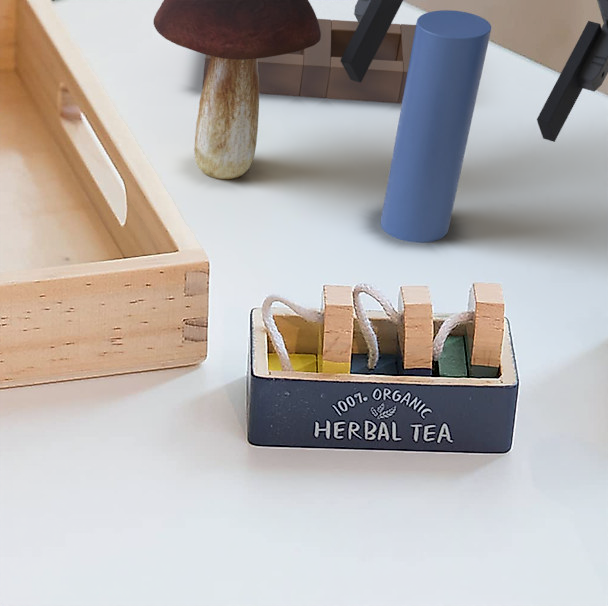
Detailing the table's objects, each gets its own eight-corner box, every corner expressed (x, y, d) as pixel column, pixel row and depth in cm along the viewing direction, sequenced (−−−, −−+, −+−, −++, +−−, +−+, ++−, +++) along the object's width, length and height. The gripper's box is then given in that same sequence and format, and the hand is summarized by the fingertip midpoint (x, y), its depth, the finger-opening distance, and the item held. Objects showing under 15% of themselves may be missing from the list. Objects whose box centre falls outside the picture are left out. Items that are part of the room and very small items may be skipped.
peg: (444, 220, 103) (488, 12, 93) (448, 252, 99) (494, 40, 90) (378, 215, 103) (415, 7, 94) (379, 247, 100) (418, 35, 91)
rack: (419, 62, 122) (426, 25, 120) (423, 112, 115) (431, 73, 113) (209, 48, 124) (213, 11, 122) (201, 96, 117) (204, 58, 115)
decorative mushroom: (259, 134, 112) (283, -78, 102) (328, 201, 105) (362, -21, 95) (120, 155, 110) (132, -60, 100) (181, 225, 102) (199, 0, 92)
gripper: (810, -136, 92) (640, 183, 93) (437, -209, 104) (292, 75, 105) (811, -214, 85) (629, 130, 87) (413, -283, 97) (259, 21, 99)
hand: (444, 101), depth 96 cm, fingers open, 13 cm apart
